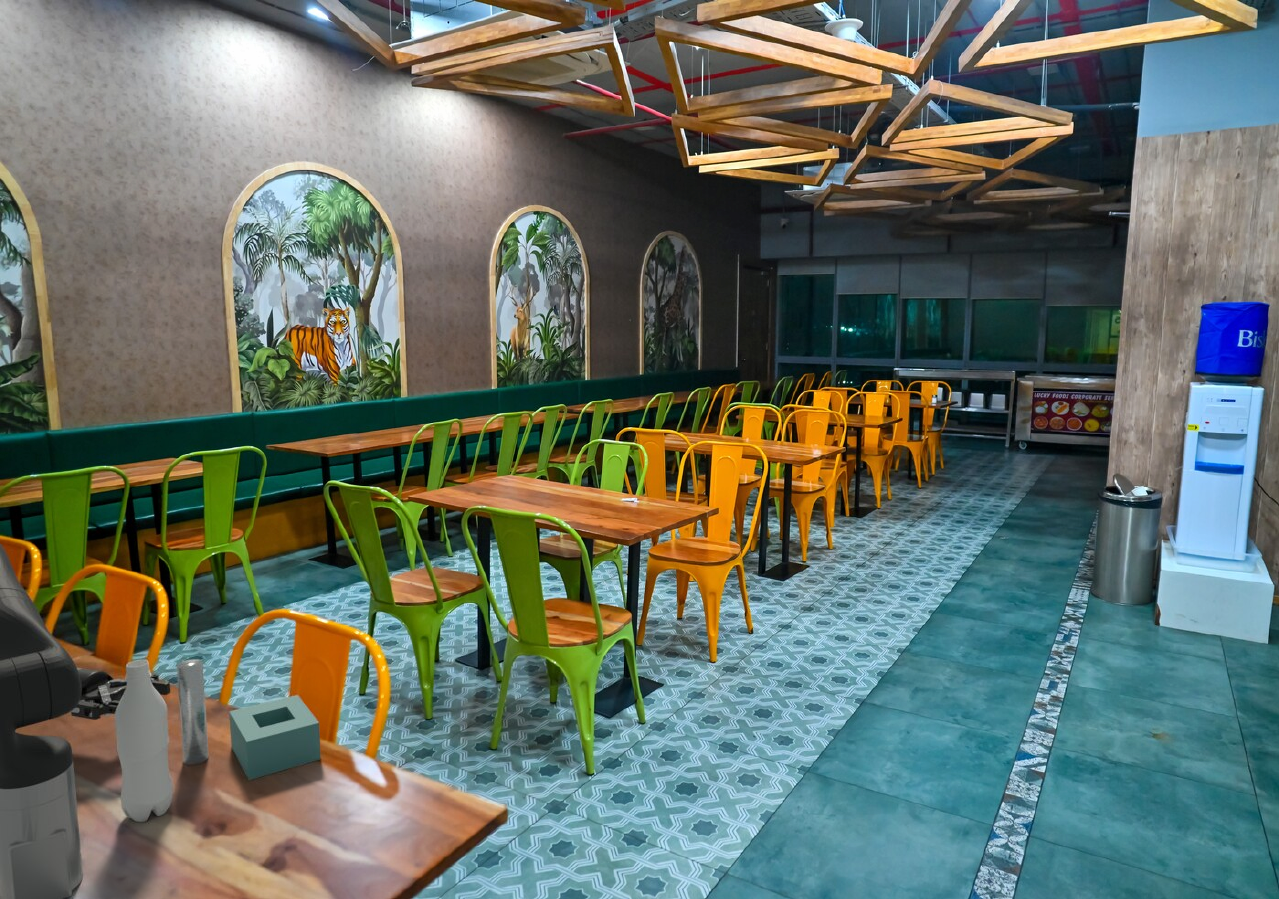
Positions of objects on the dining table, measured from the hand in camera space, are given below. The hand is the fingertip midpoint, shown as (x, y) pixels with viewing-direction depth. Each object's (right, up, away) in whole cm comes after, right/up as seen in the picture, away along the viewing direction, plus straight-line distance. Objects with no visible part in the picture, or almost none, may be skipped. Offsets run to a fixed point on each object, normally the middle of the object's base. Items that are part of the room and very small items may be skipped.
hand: (150, 698), depth 148 cm
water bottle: (+10, -13, -17) cm, 23 cm away
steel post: (+8, -11, 0) cm, 14 cm away
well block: (+22, -11, +2) cm, 24 cm away
